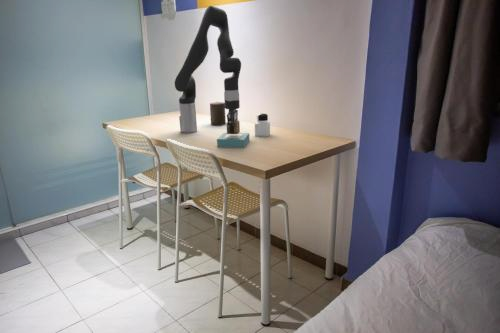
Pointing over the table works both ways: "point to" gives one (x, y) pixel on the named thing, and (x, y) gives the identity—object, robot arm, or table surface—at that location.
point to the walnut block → (236, 128)
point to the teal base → (233, 140)
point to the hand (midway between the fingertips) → (233, 131)
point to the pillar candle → (217, 113)
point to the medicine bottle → (262, 125)
